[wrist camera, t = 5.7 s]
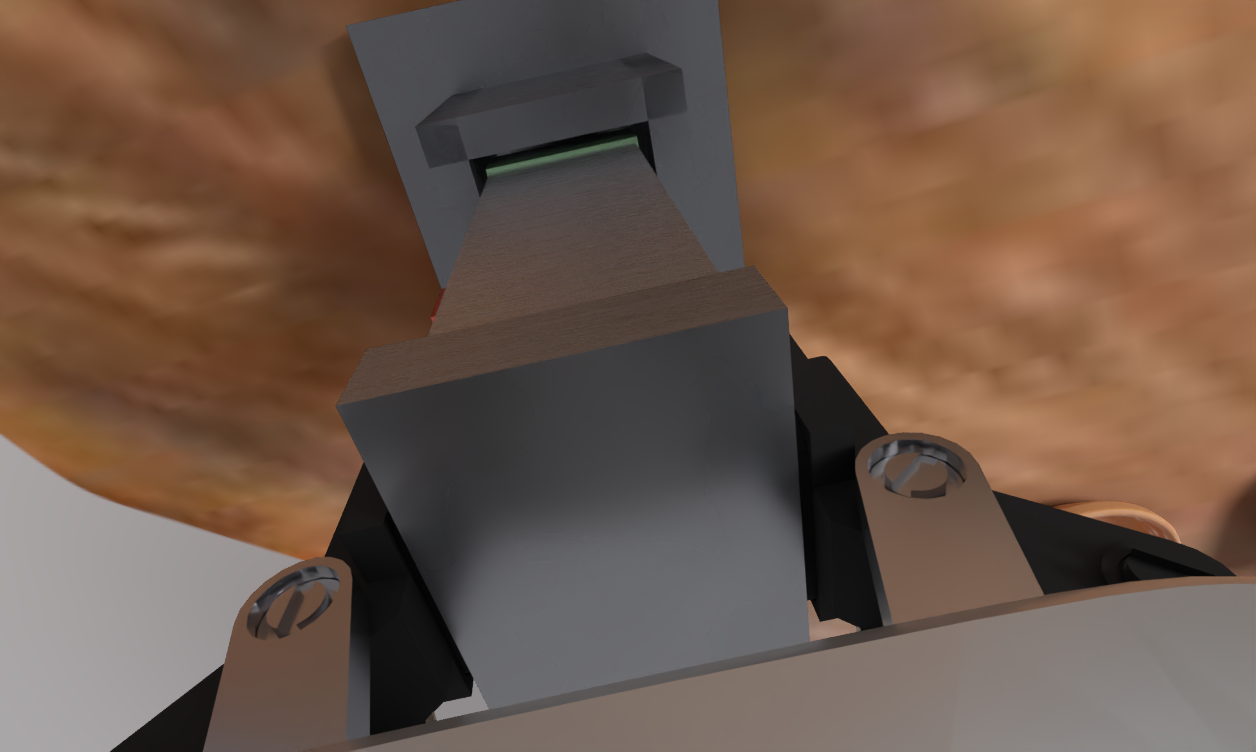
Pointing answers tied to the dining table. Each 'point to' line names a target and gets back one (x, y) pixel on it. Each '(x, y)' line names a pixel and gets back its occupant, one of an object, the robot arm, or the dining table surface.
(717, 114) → the stand
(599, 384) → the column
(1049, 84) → the dining table surface
